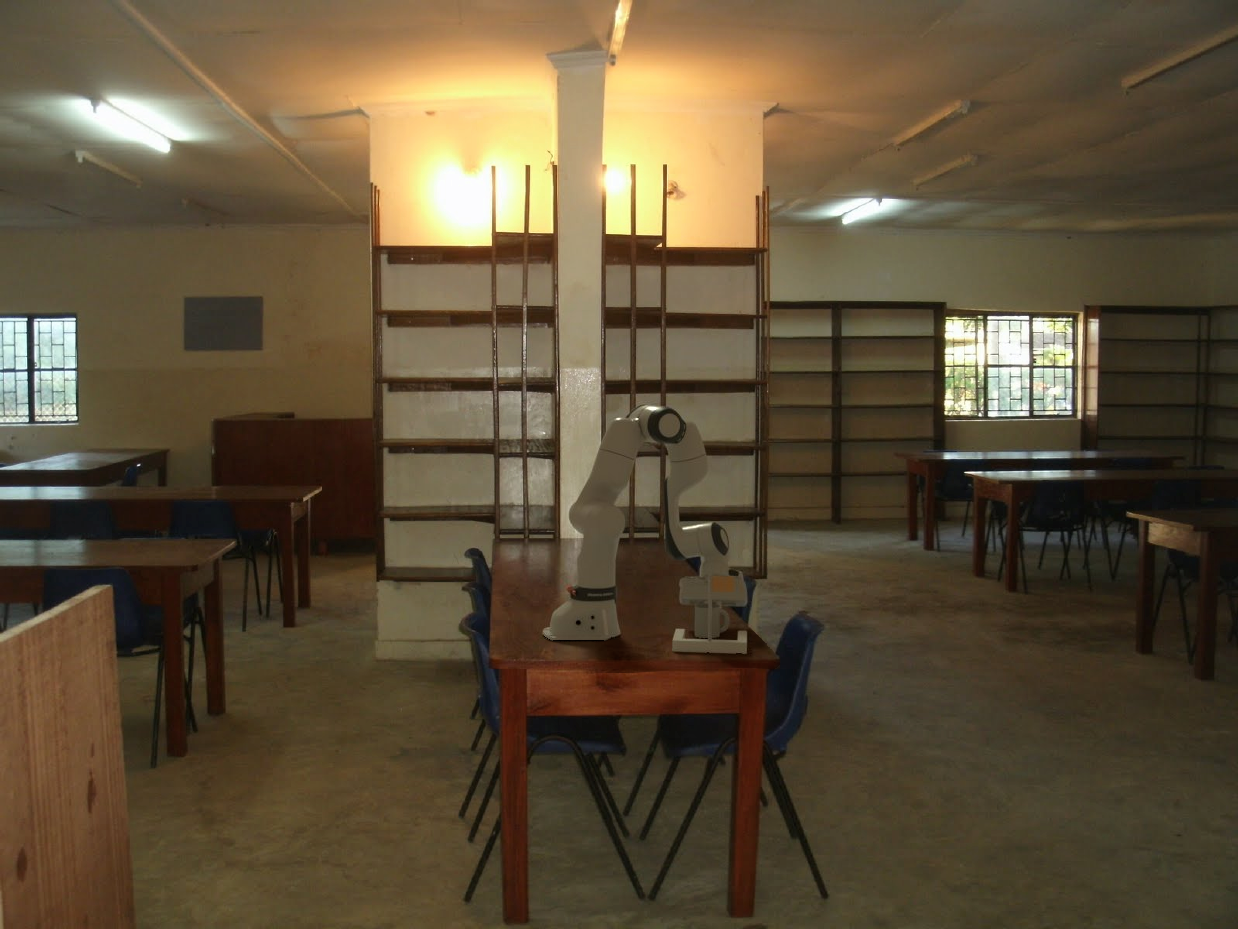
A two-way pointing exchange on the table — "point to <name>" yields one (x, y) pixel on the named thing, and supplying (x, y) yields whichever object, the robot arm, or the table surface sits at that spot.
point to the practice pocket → (708, 644)
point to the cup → (702, 620)
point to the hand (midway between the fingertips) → (712, 616)
